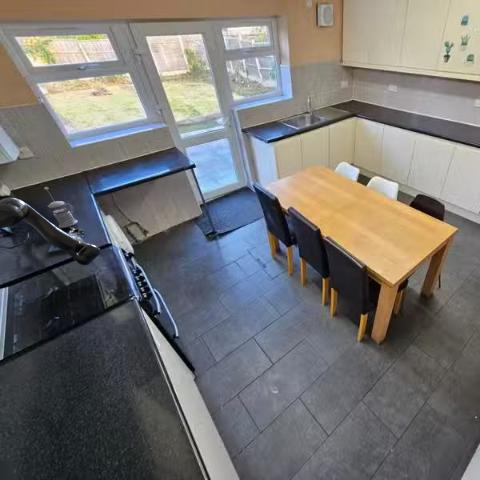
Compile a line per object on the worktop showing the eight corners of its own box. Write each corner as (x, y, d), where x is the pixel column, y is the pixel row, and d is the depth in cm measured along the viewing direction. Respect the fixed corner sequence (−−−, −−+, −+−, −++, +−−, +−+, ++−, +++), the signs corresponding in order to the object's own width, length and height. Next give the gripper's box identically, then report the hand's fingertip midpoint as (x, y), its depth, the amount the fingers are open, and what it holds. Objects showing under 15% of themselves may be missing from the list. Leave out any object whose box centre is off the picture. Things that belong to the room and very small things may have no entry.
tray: (79, 248, 155) (76, 245, 153) (50, 256, 150) (47, 252, 149) (84, 232, 167) (82, 229, 166) (58, 238, 163) (55, 235, 161)
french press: (54, 226, 172) (30, 189, 158) (73, 217, 181) (52, 182, 167) (65, 228, 169) (41, 191, 155) (84, 219, 178) (63, 184, 164)
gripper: (85, 230, 142) (72, 220, 149) (52, 244, 133) (41, 233, 140) (93, 241, 146) (80, 231, 154) (62, 255, 137) (50, 244, 145)
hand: (61, 232), depth 147 cm, fingers open, 8 cm apart
